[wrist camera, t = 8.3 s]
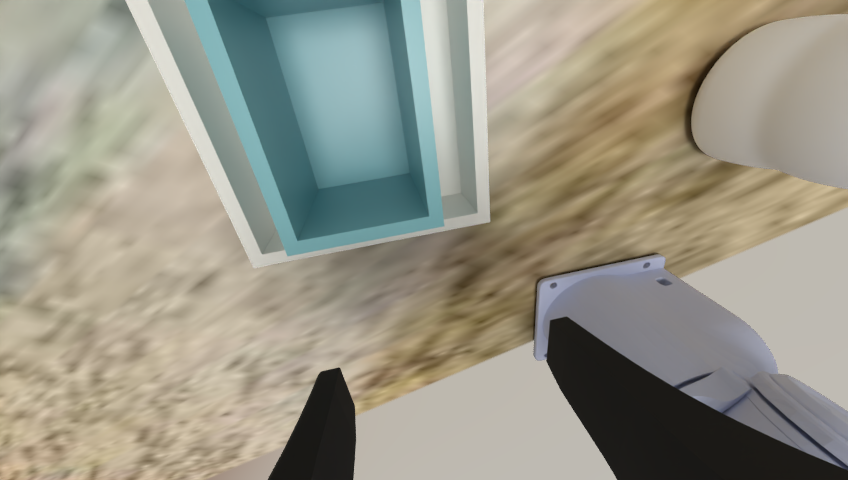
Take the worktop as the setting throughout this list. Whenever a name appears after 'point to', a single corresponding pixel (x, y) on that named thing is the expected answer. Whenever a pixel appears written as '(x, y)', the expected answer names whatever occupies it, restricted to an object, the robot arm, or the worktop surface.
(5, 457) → the worktop surface
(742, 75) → the water bottle
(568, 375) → the robot arm
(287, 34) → the teal crate
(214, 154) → the white crate
